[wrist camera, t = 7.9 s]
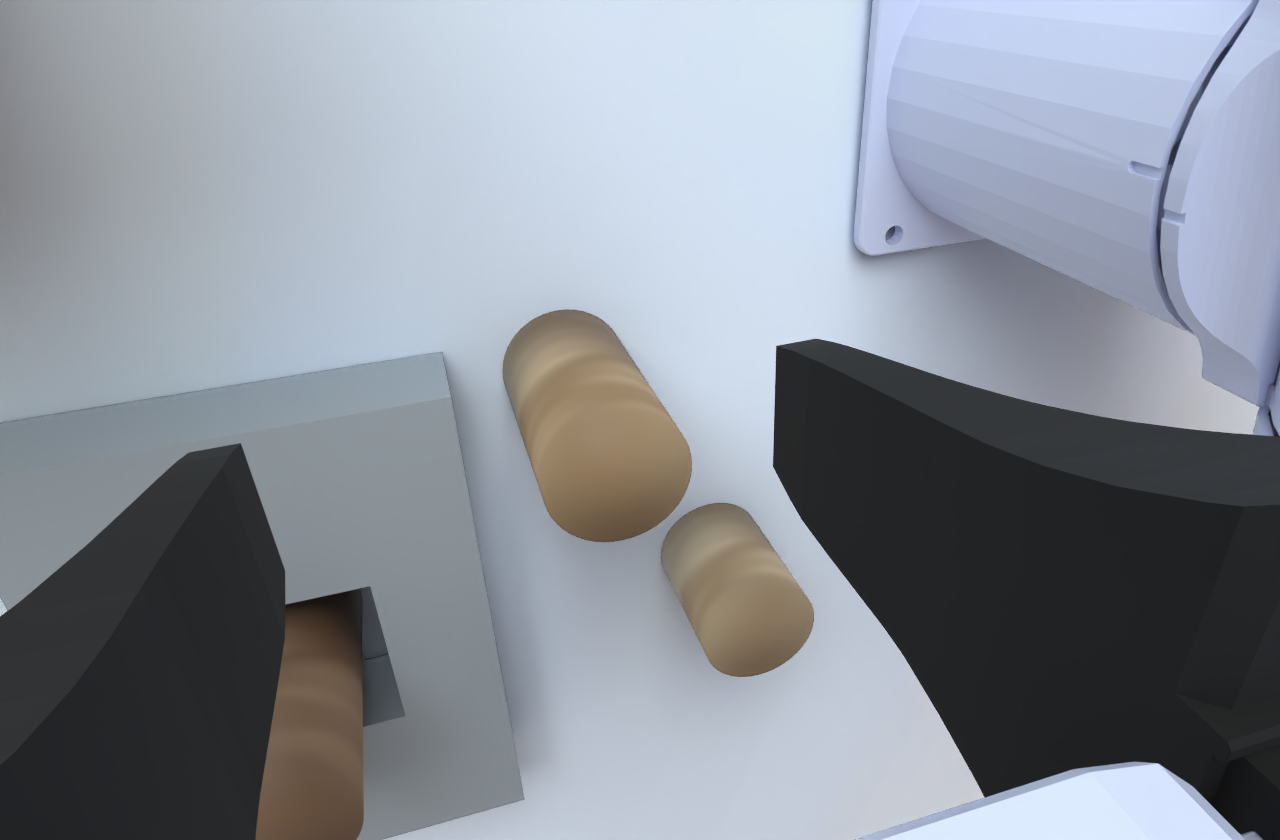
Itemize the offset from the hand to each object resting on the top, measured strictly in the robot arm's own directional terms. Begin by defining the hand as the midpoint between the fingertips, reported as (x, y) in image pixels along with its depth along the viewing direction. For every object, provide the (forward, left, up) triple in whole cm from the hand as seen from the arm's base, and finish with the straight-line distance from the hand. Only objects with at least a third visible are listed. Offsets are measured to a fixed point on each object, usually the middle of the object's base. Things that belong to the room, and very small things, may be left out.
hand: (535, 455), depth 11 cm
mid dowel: (-2, +4, -10) cm, 11 cm away
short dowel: (-6, +11, -10) cm, 16 cm away
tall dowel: (+6, +10, -10) cm, 15 cm away
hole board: (+6, +10, -10) cm, 15 cm away
